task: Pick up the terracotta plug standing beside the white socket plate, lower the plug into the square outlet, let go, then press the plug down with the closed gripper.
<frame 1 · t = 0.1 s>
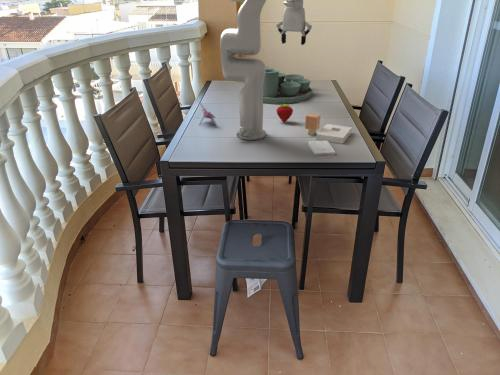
hand: (293, 43, 193), 31 cm above the table, tool pointing down, fingers open, 9 cm apart
strawberry: (284, 122, 187), on the table
lily: (207, 124, 186), on the table
external hard drive: (321, 150, 158), on the table
socket: (334, 136, 170), on the table
plug: (311, 133, 173), on the table
tea set: (276, 95, 231), on the table
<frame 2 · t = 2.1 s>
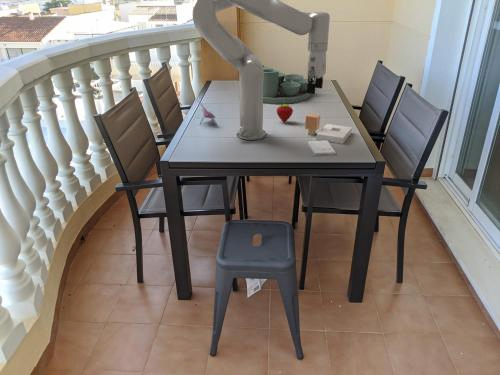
hand: (314, 90, 165), 18 cm above the table, tool pointing down, fingers open, 9 cm apart
nothing on the table moved.
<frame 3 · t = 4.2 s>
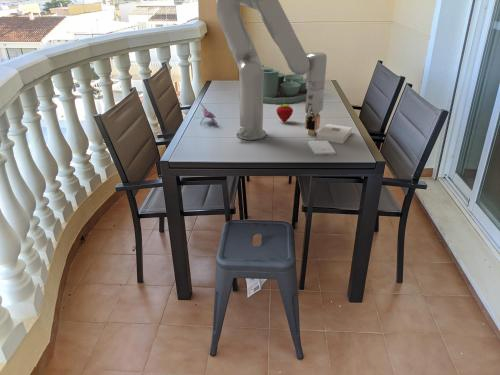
hand: (312, 127, 172), 3 cm above the table, tool pointing down, fingers closed on plug, 3 cm apart
plug: (311, 133, 173), on the table, touching gripper
everything else where it was.
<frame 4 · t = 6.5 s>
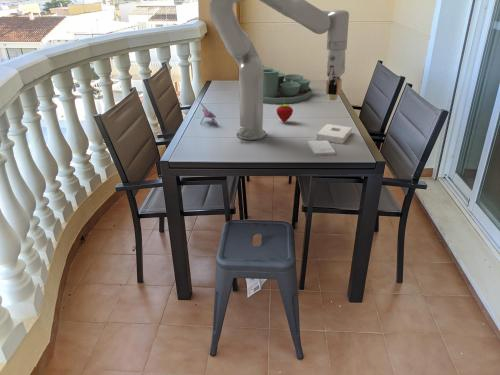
hand: (333, 92, 163), 18 cm above the table, tool pointing down, fingers closed on plug, 4 cm apart
plug: (333, 99, 165), point 15 cm above the table, touching gripper
everything else where it was.
when the fingers open (3 cm above the table, at t = 9.0 s): plug stays where it is, resting on socket.
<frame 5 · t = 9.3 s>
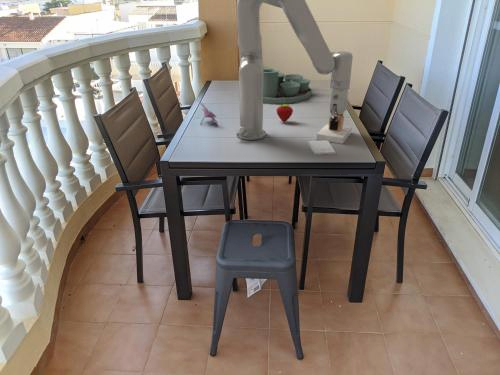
hand: (336, 126, 169), 4 cm above the table, tool pointing down, fingers open, 6 cm apart
plug: (335, 134, 171), resting on socket
everything else where it was.
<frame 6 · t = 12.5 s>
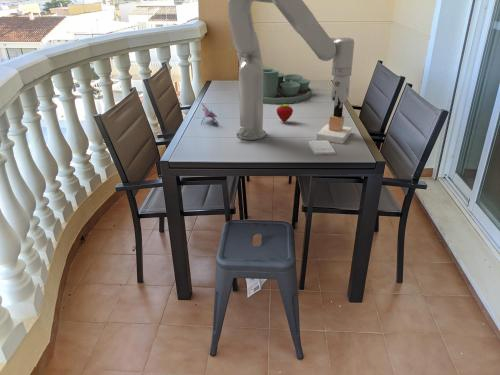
hand: (337, 116, 167), 8 cm above the table, tool pointing down, fingers closed
plug: (335, 134, 171), resting on socket, touching gripper
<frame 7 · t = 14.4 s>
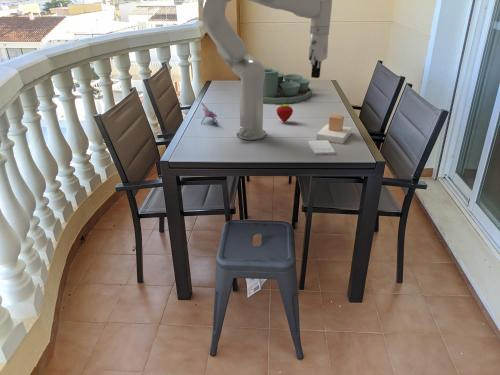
hand: (315, 77, 169), 22 cm above the table, tool pointing down, fingers closed
plug: (335, 134, 171), resting on socket
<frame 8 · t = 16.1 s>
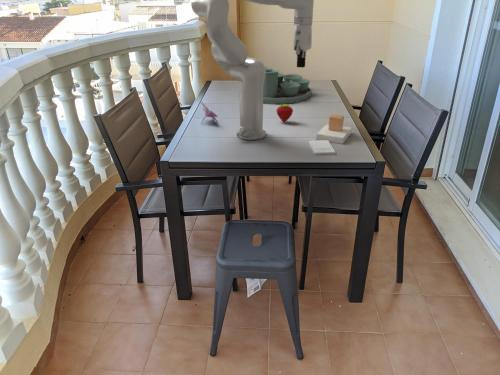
hand: (300, 66, 174), 25 cm above the table, tool pointing down, fingers closed
at the end: plug 0.1 cm from the target spot on the socket, point 0.2 cm above the socket's base; plug tilted 0°; the gripper is holding nothing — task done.
